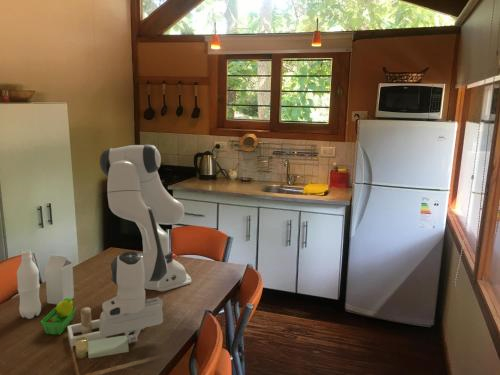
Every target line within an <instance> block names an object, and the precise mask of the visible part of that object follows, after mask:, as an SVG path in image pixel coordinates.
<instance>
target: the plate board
mask: <svg viewBox="0 0 500 375" xmlns="http://www.w3.org/2000/svg"><path fill="white" fill-rule="evenodd" d="M129 348H130V347H129V343H128V340H127V336H126V335H125V334H123V335H119V336H113V337H106V338H105V339H98V340H92V341H88V356H87V357H88V359H93V358H100V357H106V356H112V355H118V354H122V353H129V352H130V351H129Z"/></svg>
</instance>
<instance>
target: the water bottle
mask: <svg viewBox="0 0 500 375" xmlns="http://www.w3.org/2000/svg"><path fill="white" fill-rule="evenodd" d="M20 258H21V262H20V264H19V266H18V268H17V271H16V278H17V282H16V283H17V292H18V296H19V307H18V309H19V314H20V316H21V317H22V318H23V319H25V318H26V319H27V320H28V319H34V317H35V316H36V317H38V316H39V315H40V314H41V311H42V303H41V299H40V288H41V286H40V276H39V274H40V271H39V268H38V266H37V265H36V264H35V263H34V261H33V255H32V251H31V249H26V250H22V251H21V257H20Z"/></svg>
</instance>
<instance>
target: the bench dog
mask: <svg viewBox="0 0 500 375" xmlns="http://www.w3.org/2000/svg"><path fill="white" fill-rule="evenodd" d="M87 357H88V339H87V338H86V337H81V338H78V339H76V341H75V358H77V359H85V358H87Z"/></svg>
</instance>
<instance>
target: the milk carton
mask: <svg viewBox="0 0 500 375" xmlns="http://www.w3.org/2000/svg"><path fill="white" fill-rule="evenodd" d="M73 268H74V267H73V262H71V261H70V260H68V258H67V256H66V255H58V254H57V255H56V254H50V257H49V259H48V261H47V263H46V265H45V266H44V270H45V272H44V273H45V286H46V302H47V304H51V305H56V306H57V305H58V304H59V303H60V302H62V301H64V299H65V298H71V299H72V300H73V299H74V298H75V289H74V270H73Z"/></svg>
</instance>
